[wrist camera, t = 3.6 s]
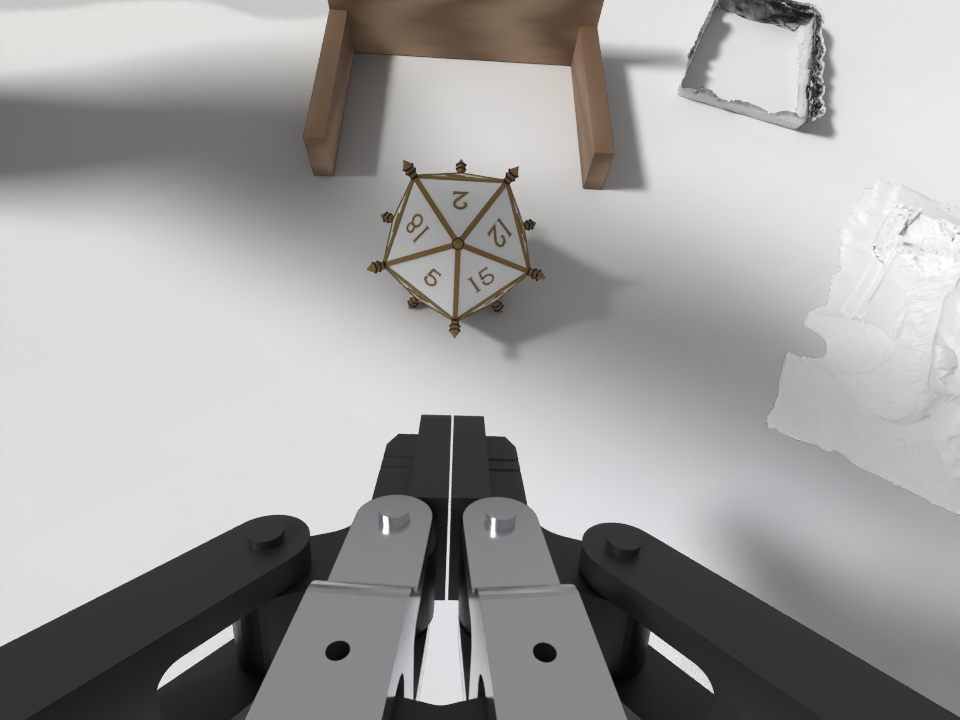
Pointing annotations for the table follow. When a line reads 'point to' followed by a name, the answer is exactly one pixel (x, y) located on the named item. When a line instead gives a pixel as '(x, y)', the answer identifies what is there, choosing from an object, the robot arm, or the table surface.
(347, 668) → the robot arm
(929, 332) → the terrain model
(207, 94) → the table surface
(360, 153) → the table surface
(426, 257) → the game die
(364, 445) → the table surface
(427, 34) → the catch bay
